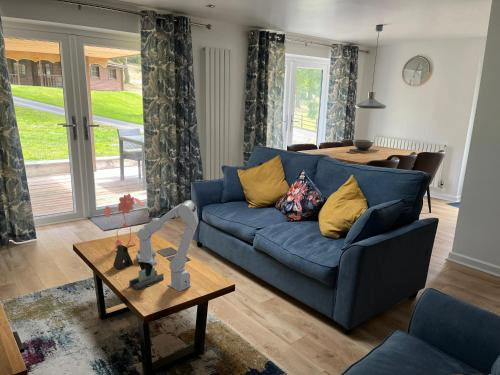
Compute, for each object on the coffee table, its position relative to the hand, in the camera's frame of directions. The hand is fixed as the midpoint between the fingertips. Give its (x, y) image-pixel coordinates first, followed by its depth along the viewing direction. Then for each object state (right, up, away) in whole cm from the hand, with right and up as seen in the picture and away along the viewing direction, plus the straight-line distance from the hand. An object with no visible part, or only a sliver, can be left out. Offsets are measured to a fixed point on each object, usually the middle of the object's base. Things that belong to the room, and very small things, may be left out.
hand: (146, 274), depth 192 cm
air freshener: (-8, +3, +30) cm, 31 cm away
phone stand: (-18, 0, +19) cm, 27 cm away
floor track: (0, -4, +1) cm, 4 cm away
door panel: (0, -3, +1) cm, 3 cm away
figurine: (-23, +6, +43) cm, 49 cm away
